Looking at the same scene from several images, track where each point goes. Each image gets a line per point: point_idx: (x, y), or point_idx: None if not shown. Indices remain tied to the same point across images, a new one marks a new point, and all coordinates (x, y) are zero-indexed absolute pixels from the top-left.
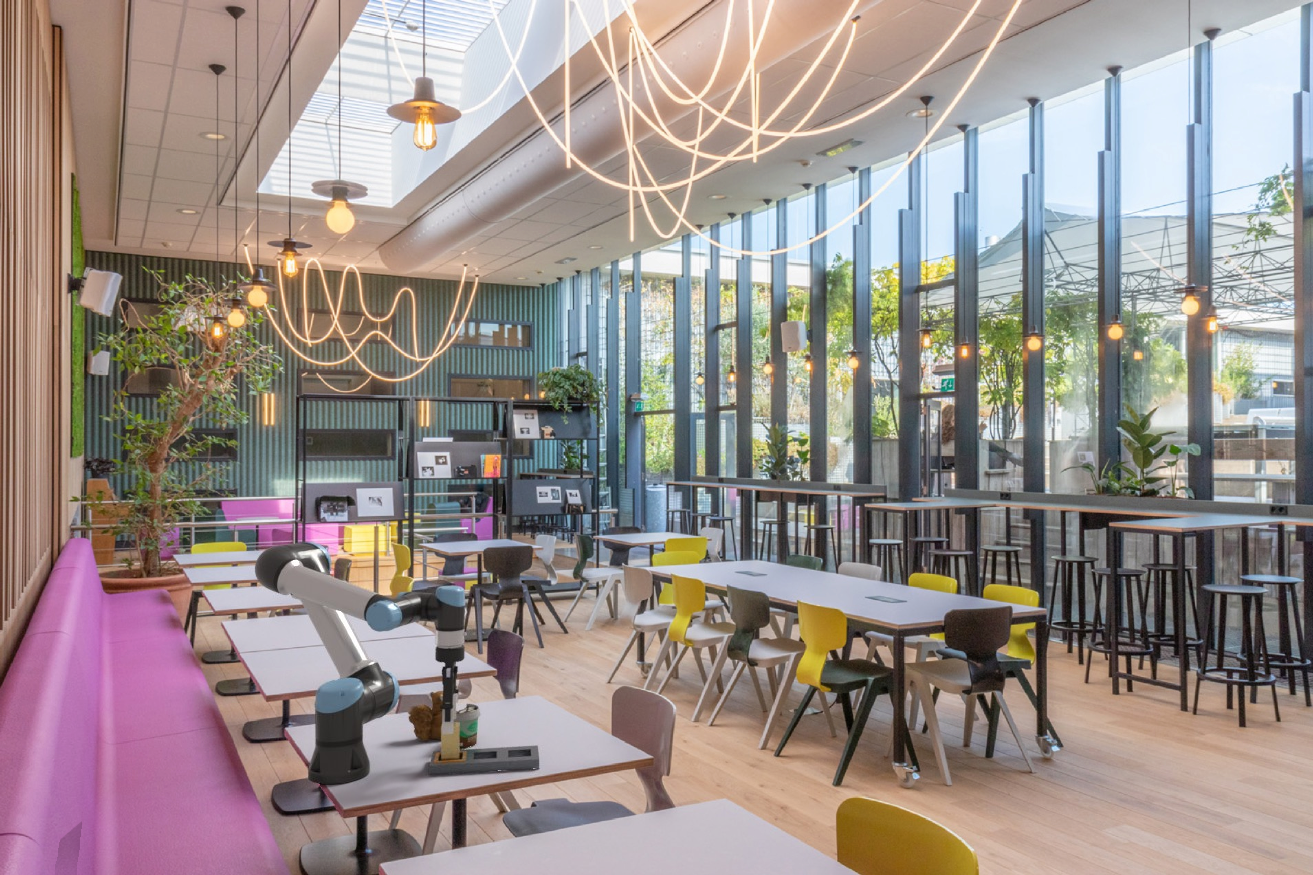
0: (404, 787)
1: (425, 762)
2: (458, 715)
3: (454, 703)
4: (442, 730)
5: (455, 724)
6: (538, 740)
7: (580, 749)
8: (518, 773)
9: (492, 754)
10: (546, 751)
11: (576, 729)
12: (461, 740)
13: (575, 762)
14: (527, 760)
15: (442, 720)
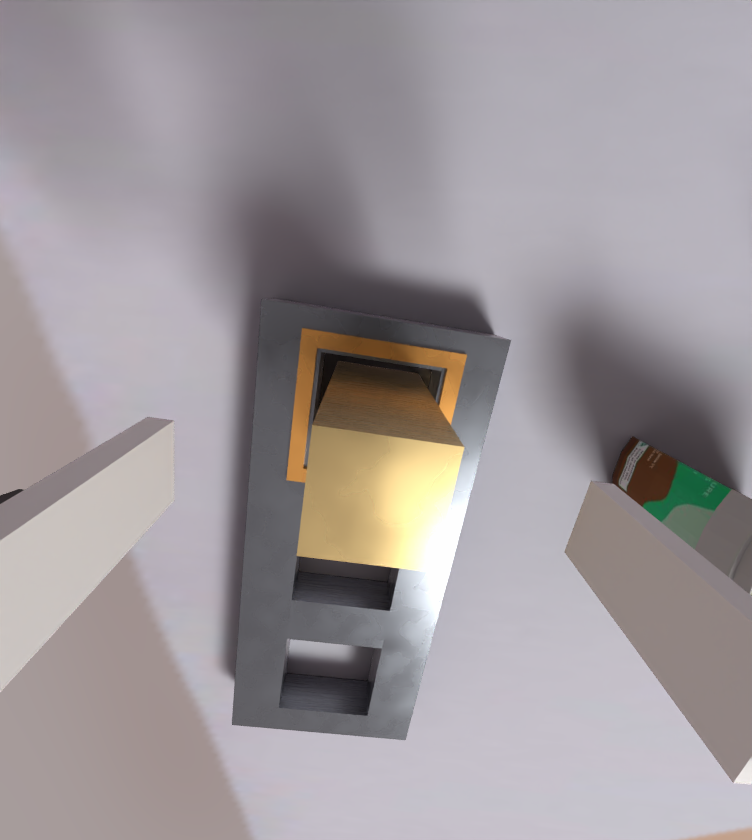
0: (115, 152)
1: (484, 296)
2: (744, 564)
3: (654, 653)
4: (130, 430)
5: (374, 539)
6: (563, 724)
7: (405, 806)
8: (209, 628)
9: (392, 585)
10: (426, 729)
11: (619, 824)
12: (634, 492)
13: (279, 779)
14: (235, 689)
15: (56, 471)
